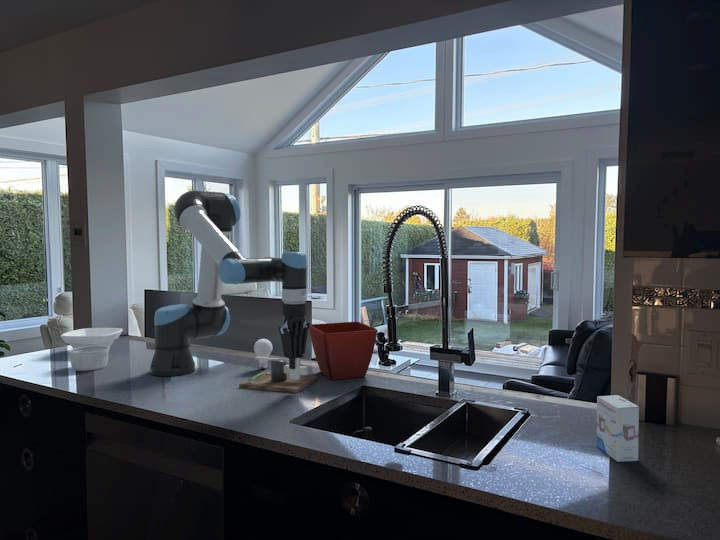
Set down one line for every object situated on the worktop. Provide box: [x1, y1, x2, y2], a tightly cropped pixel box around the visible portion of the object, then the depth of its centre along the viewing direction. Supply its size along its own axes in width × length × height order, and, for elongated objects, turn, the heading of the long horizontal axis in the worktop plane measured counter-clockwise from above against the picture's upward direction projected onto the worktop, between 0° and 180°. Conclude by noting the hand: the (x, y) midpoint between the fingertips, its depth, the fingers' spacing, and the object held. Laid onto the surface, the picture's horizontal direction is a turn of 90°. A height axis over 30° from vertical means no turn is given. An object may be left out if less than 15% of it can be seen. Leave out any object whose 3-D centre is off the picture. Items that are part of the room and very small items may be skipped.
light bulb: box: [253, 338, 273, 370], centre depth 186 cm, size 7×7×11 cm
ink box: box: [596, 394, 640, 463], centre depth 111 cm, size 9×5×12 cm, turn 5°
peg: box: [254, 356, 309, 381], centre depth 166 cm, size 18×5×7 cm, turn 71°
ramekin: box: [68, 346, 110, 372], centre depth 188 cm, size 13×13×7 cm
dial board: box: [238, 371, 318, 394], centre depth 167 cm, size 20×17×2 cm
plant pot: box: [308, 321, 378, 381], centre depth 178 cm, size 19×19×17 cm
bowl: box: [60, 327, 123, 349], centre depth 214 cm, size 21×21×9 cm
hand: (294, 378), depth 157 cm, fingers closed
